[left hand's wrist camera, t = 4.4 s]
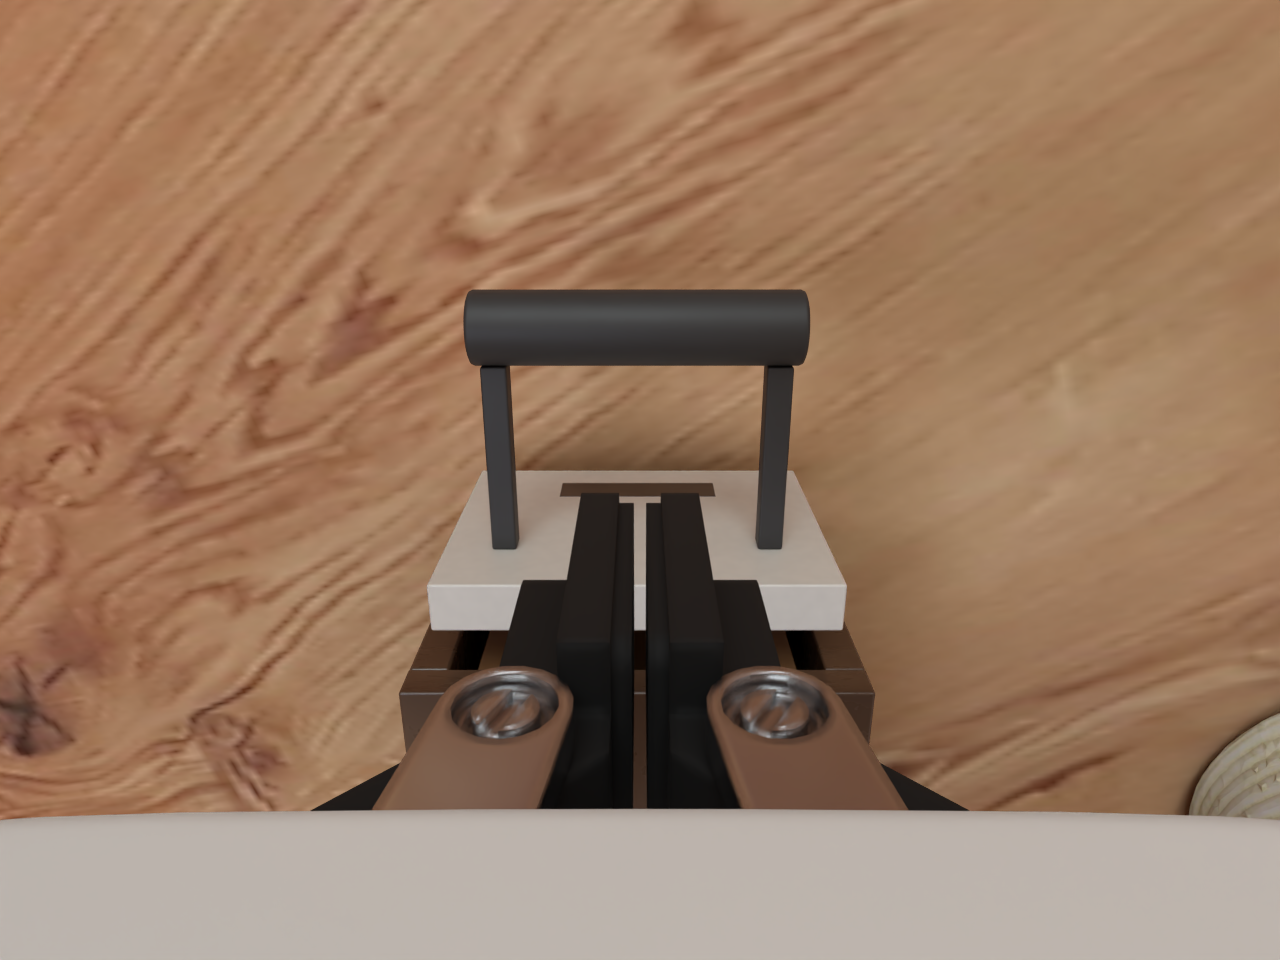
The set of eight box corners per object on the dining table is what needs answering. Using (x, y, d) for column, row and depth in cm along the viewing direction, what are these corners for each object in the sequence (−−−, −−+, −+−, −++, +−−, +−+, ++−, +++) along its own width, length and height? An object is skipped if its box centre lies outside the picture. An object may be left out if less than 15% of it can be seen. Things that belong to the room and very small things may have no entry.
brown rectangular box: (472, 522, 28) (397, 692, 19) (803, 522, 28) (876, 692, 19) (499, 874, 33) (451, 1130, 25) (776, 874, 33) (824, 1130, 25)
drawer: (466, 260, 24) (397, 307, 17) (808, 260, 24) (875, 306, 17) (507, 822, 31) (469, 1012, 24) (769, 822, 31) (805, 1013, 24)
